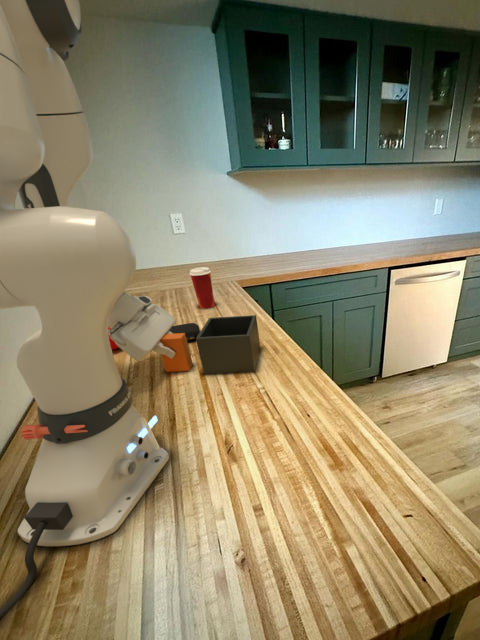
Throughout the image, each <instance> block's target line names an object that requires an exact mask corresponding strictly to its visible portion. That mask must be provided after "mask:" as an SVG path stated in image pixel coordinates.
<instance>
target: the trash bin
mask: <svg viewBox="0 0 480 640" xmlns="http://www.w3.org/2000/svg"><path fill="white" fill-rule="evenodd" d="M259 333H260V332H259V326H258V320H257V315H256V314H254V315H253V314H252V315H236V316H235V315H234V316H220V317H219V316H218V317H209V318H208V319H207V321H206V322H205V323H204V325H203V327H202V328H201V329H200V333H199V334H198V336H197V337H196V339H195V341H196V345H197V350H198V356H199V359H200V363H201V368H202V371H203V375H215V374H234V373H235V374H236V373H253V372H256V368H257V364H258V363H257V362H258V359H259V355H260V351H261V342H260V336H259Z"/></svg>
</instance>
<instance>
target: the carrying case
mask: <svg viewBox="0 0 480 640" xmlns="http://www.w3.org/2000/svg"><path fill="white" fill-rule="evenodd" d="M200 331H201V329H200V326H199V325H198V324H197V323H195V322H188V323H182V324H177V325H176V324H175V325H174V326H173V327H172V328H171V329H170V332H172V333H173V334H176V333H185V335H186V339H187V342H189V341H194V340H195V341H196V337H197V336H198V334H199V333H200Z"/></svg>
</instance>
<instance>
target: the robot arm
mask: <svg viewBox="0 0 480 640" xmlns="http://www.w3.org/2000/svg"><path fill="white" fill-rule="evenodd" d="M81 13H82V11H81V4H80V0H0V310H5V309H15V308H24V307H34V309H36V311H37V313H38V315H39V318H40V324H41V328H40V329H39V330H38V331H37V332H35V333H34V334H32V335H31V336H30V337H29V338H27V339H26V340H25V341H24V342H23V343H22V345H21V346H20V348H19V349H18V352H17V357H16V368H17V370H18V372H19V373H20V375H21V377H22V379H23V380H24V382H25V384H26V386H27V388H28V389H29V391H30V393H31V395H32V396H33V398H34V400H35V402H36V404H37V419H38V423H37V424H24V425H23V426H22V428H20V429H21V430H20V436H21V438H22V440H33V439H36V440H40V439H42V440H41V443H40V446H39V449H38V452H37V454H36V457H35V460H34V462H33V466H32V469H31V472H30V475H29V478H28V480H27V483H26V485H25V488H24V497H25V500H26V503H27V505H28V508H29V509H28V510H27V513H26V514H25V515H24V517H23V520H22V521H21V523H20V524H19V526H18V528H17V534H18V536H19V538H20V539H21V540H22V541H24V542H25V543H27V544H28V545H27V547H26V550H25V555H24V564H25V567H26V570H27V576H26V577H25V580H24V582H23V584H22V585H21V587H20V588H19V590H18V591H17V592H16V593H15V594H14V595H13V596H12V597H11V598H10V600H8V602H6V603H5V604H4V605H3V606H2V607H1V608H0V620H1V619H2V618H3V617H4V616H5V615H6V614H7V613H9V612H10V611H11V609H13V607H14V606H15V605H17V603H18V602H19V601H20V600H21V599H22V598H23V597H24V596H25V594H26V593H27V592H28V591H29V590H30V588H31V586H32V585H33V583H34V581H35V578H36V576H37V571H38V567H37V565H36V562H35V552H36V548H37V546H39V547H67V546H69V547H70V546H76V545H82V544H87V543H91V542H94V541H97V540H101V539H102V538H105V537H107V536H110V535H112V534H113V533H115V532H116V531H118V529H119V528H121V526H122V524H124V522H125V520H126V519H127V517H129V515H130V513H132V511H133V509H134V508H135V506H136V505H138V502H139V501H140V499H141V498H143V495H144V494H145V493H146V491H147V490H148V489H149V487H150V486H151V485H152V483H153V482H154V480H155V479H156V478H157V477H158V475H159V473H160V472H161V471H162V469H163V468H164V467H165V466H166V464H167V462H168V461H169V460H170V454H169V453H168V451H167V450H166V449H164V448H163V447H161V446H160V444H159V443H158V440H157V438H156V437H155V435H154V433H153V430H152V428H153V427H154V426H155V424H156V423H158V417H157V415H154V416H152V418H151V419H150V420H149V422H148V421H147V419H146V418H145V417H144V416H143V415H142V414H141V413H140V412H139V410H138V409H137V408H136V407H135V406H134V404H133V396H132V394H131V390H130V387H129V385H128V384H127V381H126V380H125V379H124V378H123V377H122V376H121V374H120V371H119V369H118V364H117V363H116V360H115V357H114V354H113V350H112V349H111V346H110V342H109V336H110V338H111V339H112V340H113V341H115V343H116V345H117V346H118V349H120V350H122V352H124V353H125V354H127V355H128V356H129V357H131V358H132V359H134V360H135V361H137V362H144V361H145V359H147V357H149V355H150V354H151V353H152V351H153V352H155V353H156V354H159V355H161V354H163V355H166V356H168V357H169V358H173V357H174V355H175V354H176V353H177V352H176V350H174V349H173V348H167V347H165V346H163V344H162V343H161V342H159V341H160V340H161V339H162V338H163V336H164V335H165V334H173V333H172V332H170V329H171V328H172V327H173V326H175V325H176V323H177V321H176V319H175V317H174V316H173V315H172V314H171V313H170V312H168V311H167V310H166V309H164V308H163V307H161V306H160V305H158V304H157V303H153V299H152V298H151V297H150V296H147V295H139V296H138V295H137V296H136V295H132V296H131V295H130V294H129V293H127V292H126V290H128V288H129V286H130V285H131V283H132V281H133V279H134V277H135V274H136V269H137V255H136V251H135V247H134V244H133V242H132V240H131V238H130V236H129V234H128V233H127V231H126V230H125V228H124V226H122V225H121V224H120V223H119V222H118V221H117V220H116V219H115V218H114V217H113V216H111V215H110V214H108V213H107V212H105V211H102V210H95V209H89V208H84V207H83V208H82V207H74V206H73V207H72V206H69V201H70V197H71V195H72V193H73V191H74V189H75V187H76V185H77V184H78V182H79V181H80V180H81V178H82V177H83V176H84V175H85V174H86V173H87V171H88V170H89V168H90V166H91V164H92V161H93V159H94V143H93V138H92V134H91V130H90V127H89V124H88V121H87V120H88V119H87V118H86V114H85V112H84V108H83V106H82V103H81V100H80V98H79V95H78V92H77V89H76V87H75V84H74V82H73V79H72V77H71V75H70V72H69V70H68V68H67V66H66V63H65V62H66V61H68V60H69V57H70V56H69V55H70V54H69V51H71V50H72V49H73V48H75V47H76V46H77V45H78V42H79V39H80V37H81V35H82V22H81V21H82V15H81ZM17 196H19V199H20V201H21V204H22V208H17V209H16V208H15V207H16V200H17ZM108 327H109V328H111V329H109V331H108ZM108 333H109V336H108ZM111 334H112V335H111Z"/></svg>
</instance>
